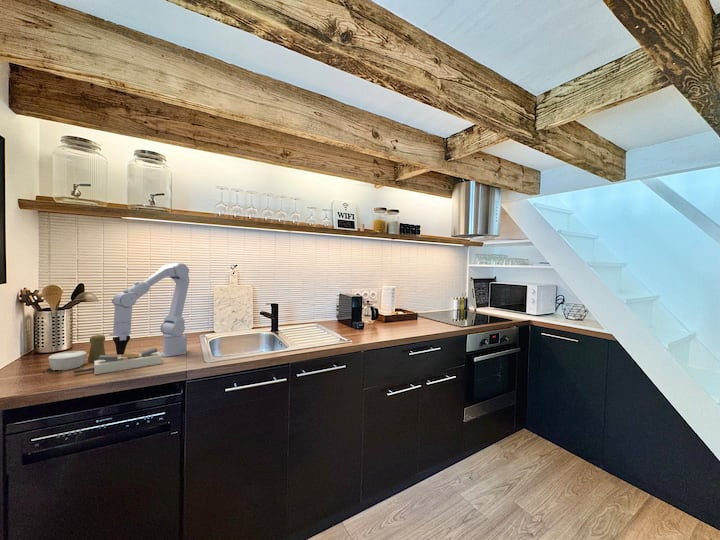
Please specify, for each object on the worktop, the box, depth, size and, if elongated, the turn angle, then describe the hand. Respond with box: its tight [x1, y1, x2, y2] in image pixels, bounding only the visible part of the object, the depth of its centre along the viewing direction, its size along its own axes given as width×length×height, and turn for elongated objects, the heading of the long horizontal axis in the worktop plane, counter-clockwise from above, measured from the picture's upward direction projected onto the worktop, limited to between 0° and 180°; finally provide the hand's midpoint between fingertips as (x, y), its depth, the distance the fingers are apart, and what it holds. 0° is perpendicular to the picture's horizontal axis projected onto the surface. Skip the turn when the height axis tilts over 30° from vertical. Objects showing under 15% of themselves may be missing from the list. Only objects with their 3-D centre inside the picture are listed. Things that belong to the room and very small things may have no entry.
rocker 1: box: [99, 354, 119, 360], centre depth 119 cm, size 6×3×1 cm, turn 133°
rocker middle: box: [120, 351, 139, 357], centre depth 124 cm, size 6×3×1 cm, turn 133°
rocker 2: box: [140, 347, 159, 357], centre depth 129 cm, size 6×3×1 cm, turn 132°
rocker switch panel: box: [73, 351, 163, 375], centre depth 122 cm, size 28×7×4 cm, turn 133°
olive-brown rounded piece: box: [87, 334, 106, 363], centre depth 130 cm, size 6×6×11 cm
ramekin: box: [47, 350, 88, 372], centre depth 121 cm, size 11×11×5 cm
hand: (120, 354), depth 122 cm, fingers closed, pressing on rocker middle
